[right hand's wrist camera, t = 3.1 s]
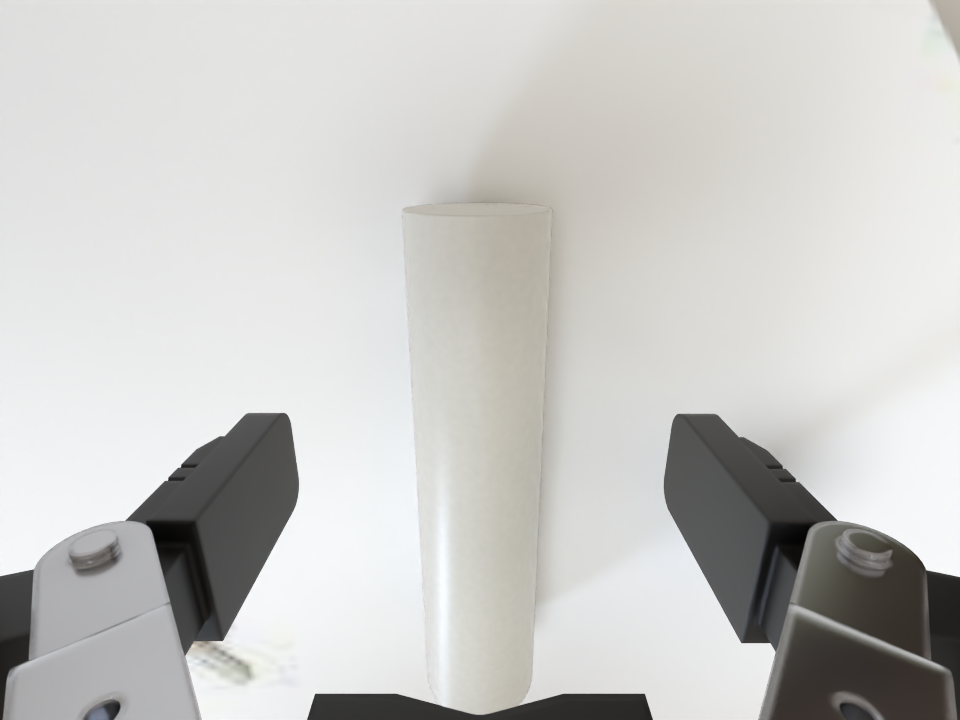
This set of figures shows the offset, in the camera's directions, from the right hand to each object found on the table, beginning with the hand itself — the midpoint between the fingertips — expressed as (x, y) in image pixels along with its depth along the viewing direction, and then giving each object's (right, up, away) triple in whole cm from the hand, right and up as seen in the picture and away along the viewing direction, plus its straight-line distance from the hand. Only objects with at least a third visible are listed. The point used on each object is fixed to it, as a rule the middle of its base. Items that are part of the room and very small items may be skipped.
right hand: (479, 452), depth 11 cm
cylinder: (0, -3, +18) cm, 18 cm away
